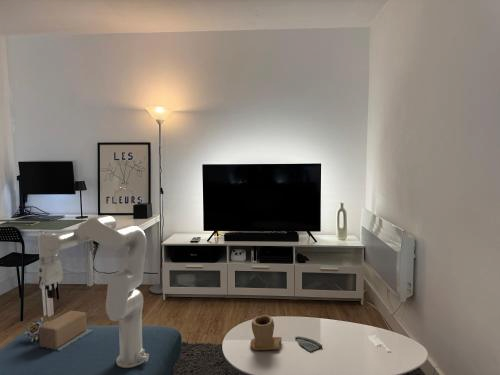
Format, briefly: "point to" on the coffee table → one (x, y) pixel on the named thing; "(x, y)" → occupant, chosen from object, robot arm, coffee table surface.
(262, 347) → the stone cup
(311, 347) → the curved wedge
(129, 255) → the robot arm
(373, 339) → the white plastic blade
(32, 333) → the passion flower
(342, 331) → the coffee table surface
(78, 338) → the rubber mat
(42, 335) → the block
